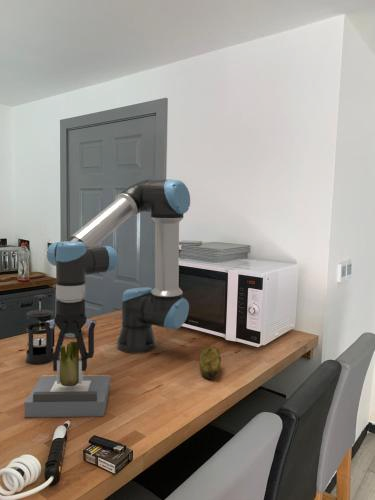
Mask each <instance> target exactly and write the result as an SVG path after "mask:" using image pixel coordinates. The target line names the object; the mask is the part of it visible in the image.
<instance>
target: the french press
mask: <svg viewBox="0 0 375 500" xmlns="http://www.w3.org/2000/svg"><path fill="white" fill-rule="evenodd" d="M33 298H34V299H38V302H39V309H33V310H30V311H28V312H26V316H27V320H29V319H31V318H34V319H36V320H37V321H39V322H36V323H31V324H28V325H27V326H26V327H25V328H26V329H25V332H26V333H27V334H28V340H27V346H28V349H27V350H26V351H25V352H26V354H25V355H26V357H25V362H26V364H28V365H35V366H37V365H38V366H40V365H47V364H50V363H53V359H51V358H47V357H46V337H42V336H41V335H44V334H45V335H46V329H42V327H45V326H44V324H45V322H46V321H47V320H53V315H54V313H55V312H54V311H53V310H51V309H41V308H42V305H41V304H42V303H41V302H42V299H45V298H47V295H45V294H38V295H34V296H33ZM55 325H56V324H54V327H53V352H55V350H54V349H55V348H54V347H55ZM37 327H39V329H38V330H36V329H34V330H33V328H37ZM34 335H39V337H38V338H37V337H36V338H34Z"/></svg>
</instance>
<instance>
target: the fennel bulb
mask: <svg viewBox="0 0 375 500" xmlns="http://www.w3.org/2000/svg"><path fill="white" fill-rule="evenodd" d="M60 357H61V360H60V382H61V385H62V386H75V385H77V384H78V383H79V359H80V351H79V347H78V343H77V340H76V341H75V340H74V341H73V340H71V341H69V343H67V344H66V345H64V344H62V345H61V346H60Z"/></svg>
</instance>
